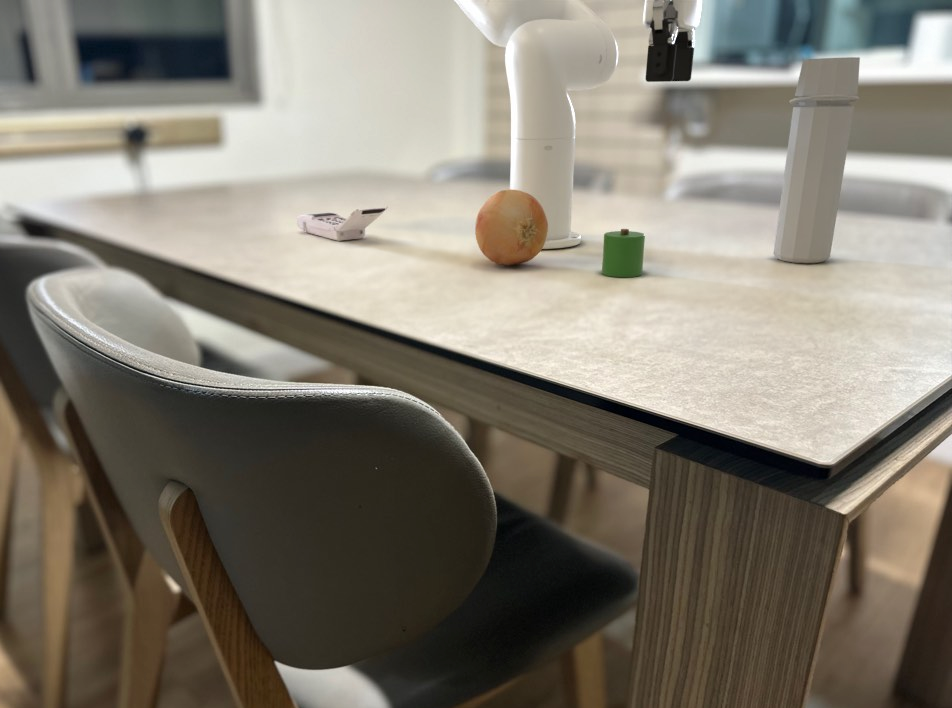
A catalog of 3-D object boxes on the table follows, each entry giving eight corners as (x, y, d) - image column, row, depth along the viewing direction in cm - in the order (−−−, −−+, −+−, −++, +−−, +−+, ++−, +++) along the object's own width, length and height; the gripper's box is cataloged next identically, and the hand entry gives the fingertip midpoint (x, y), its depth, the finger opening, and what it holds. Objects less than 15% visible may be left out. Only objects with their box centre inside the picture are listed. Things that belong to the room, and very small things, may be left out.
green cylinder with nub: (597, 275, 102) (599, 231, 100) (607, 268, 107) (610, 225, 105) (637, 278, 100) (640, 233, 98) (645, 271, 104) (649, 227, 102)
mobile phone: (357, 209, 123) (287, 195, 143) (358, 248, 125) (289, 229, 145) (391, 206, 126) (317, 193, 146) (391, 244, 128) (319, 226, 148)
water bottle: (840, 265, 105) (874, 56, 96) (775, 264, 106) (803, 58, 98) (821, 252, 113) (851, 59, 104) (761, 251, 115) (786, 61, 106)
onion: (505, 275, 104) (506, 196, 100) (460, 264, 112) (460, 189, 108) (562, 266, 109) (565, 189, 105) (515, 255, 117) (516, 184, 113)
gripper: (668, -63, 103) (655, 81, 109) (631, -85, 89) (619, 82, 96) (730, -69, 100) (713, 80, 106) (701, -92, 86) (684, 81, 92)
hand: (668, 81), depth 101 cm, fingers open, 9 cm apart
